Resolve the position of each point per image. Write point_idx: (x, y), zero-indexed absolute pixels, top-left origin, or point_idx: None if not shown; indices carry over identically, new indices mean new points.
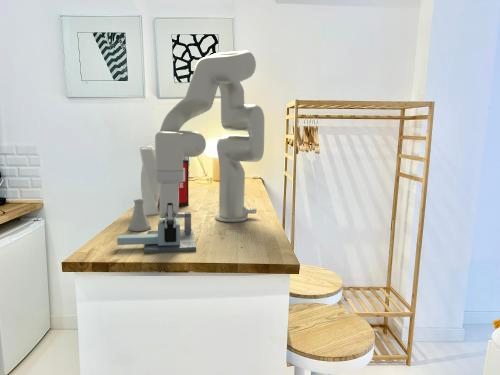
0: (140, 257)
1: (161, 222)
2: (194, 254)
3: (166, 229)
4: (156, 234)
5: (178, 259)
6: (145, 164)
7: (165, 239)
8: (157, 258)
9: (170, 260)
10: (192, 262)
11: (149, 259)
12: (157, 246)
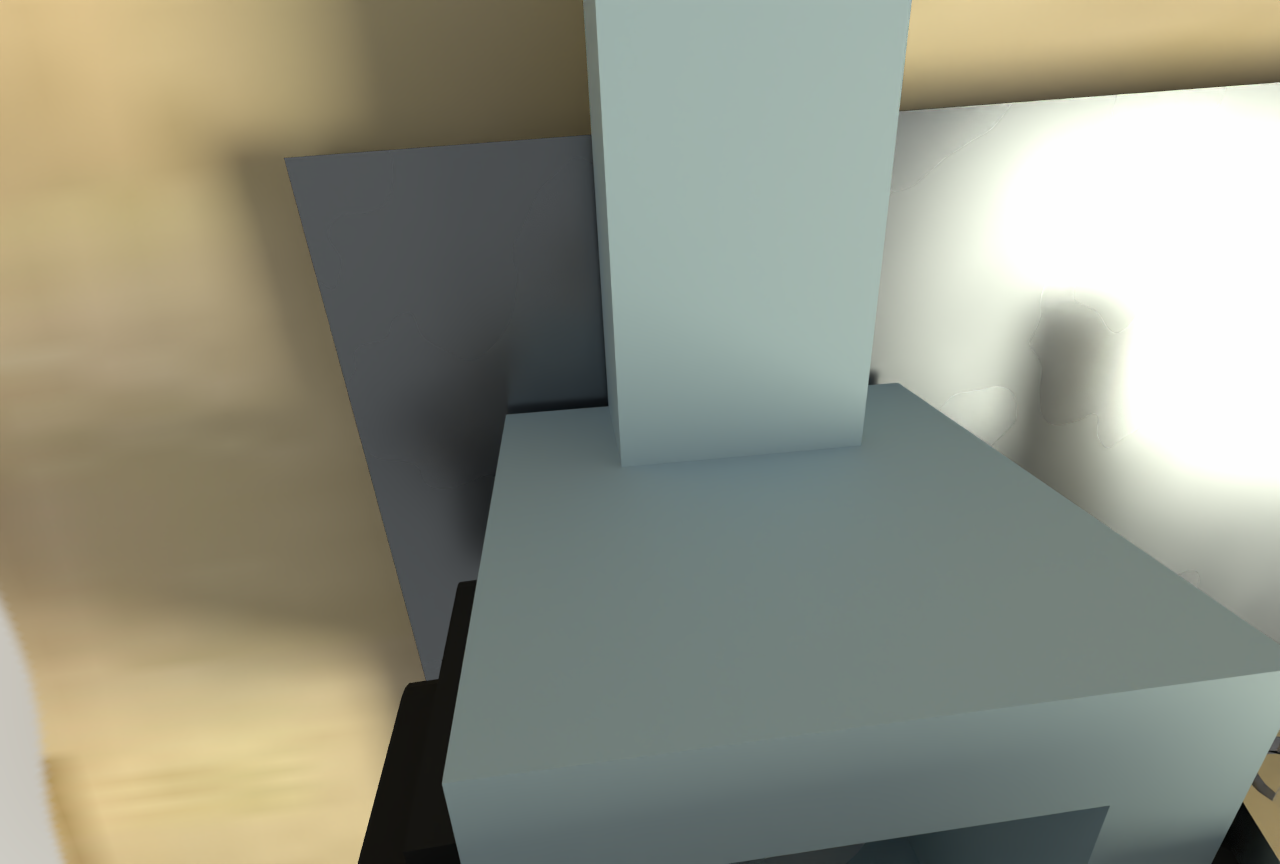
0: (98, 109)
1: (800, 825)
2: (366, 821)
3: (420, 859)
4: (825, 401)
5: (140, 696)
6: None
7: (454, 625)
8: (116, 426)
9: (71, 613)
10: (66, 841)
11: (29, 302)
12: (497, 402)
